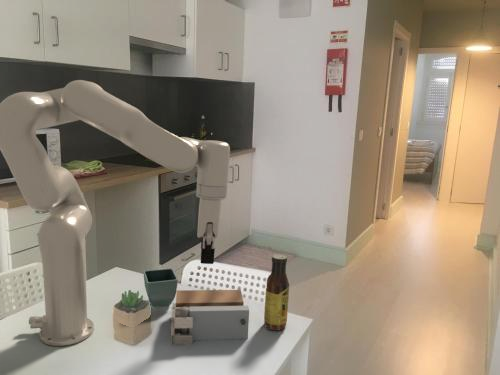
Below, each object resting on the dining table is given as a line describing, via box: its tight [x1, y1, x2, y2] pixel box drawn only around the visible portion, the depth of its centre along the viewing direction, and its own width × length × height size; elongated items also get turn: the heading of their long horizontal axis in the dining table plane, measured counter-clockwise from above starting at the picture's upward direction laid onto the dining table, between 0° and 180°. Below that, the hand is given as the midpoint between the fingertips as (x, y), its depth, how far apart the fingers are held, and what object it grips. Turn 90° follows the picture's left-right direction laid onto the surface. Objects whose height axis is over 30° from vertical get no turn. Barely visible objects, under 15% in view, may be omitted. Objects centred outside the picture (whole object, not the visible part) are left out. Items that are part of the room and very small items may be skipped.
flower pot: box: [143, 267, 179, 308], centre depth 123 cm, size 9×9×9 cm
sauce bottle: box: [263, 253, 290, 332], centre depth 112 cm, size 6×6×20 cm
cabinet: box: [175, 289, 245, 307], centre depth 115 cm, size 18×8×7 cm, turn 97°
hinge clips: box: [170, 302, 193, 346], centre depth 106 cm, size 5×8×7 cm, turn 7°
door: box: [180, 305, 250, 341], centre depth 106 cm, size 17×3×8 cm, turn 97°
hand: (206, 256), depth 107 cm, fingers open, 9 cm apart
